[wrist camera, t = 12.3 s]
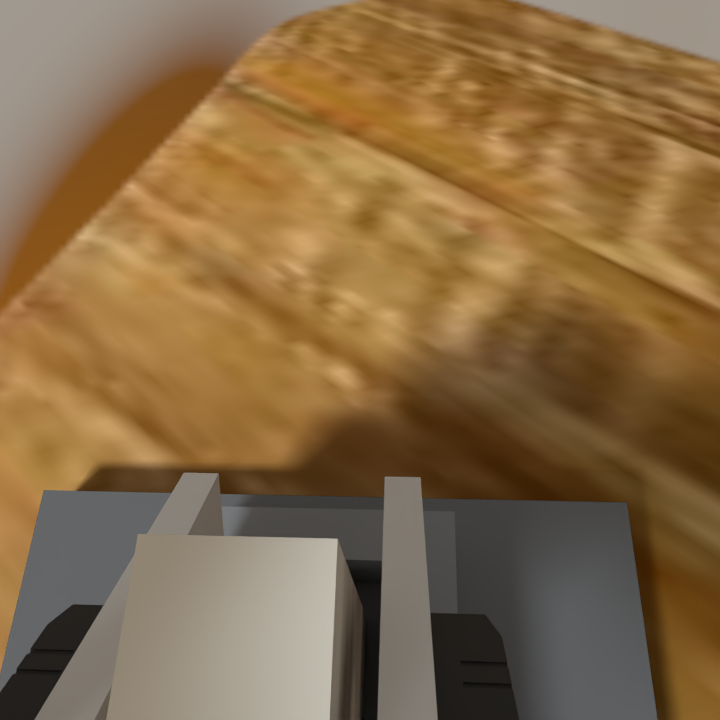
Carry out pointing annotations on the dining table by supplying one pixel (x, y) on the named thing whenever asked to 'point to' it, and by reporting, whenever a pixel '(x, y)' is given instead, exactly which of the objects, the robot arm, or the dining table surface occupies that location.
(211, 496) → the robot arm
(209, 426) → the dining table surface
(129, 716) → the slat
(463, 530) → the rectangular socket base
